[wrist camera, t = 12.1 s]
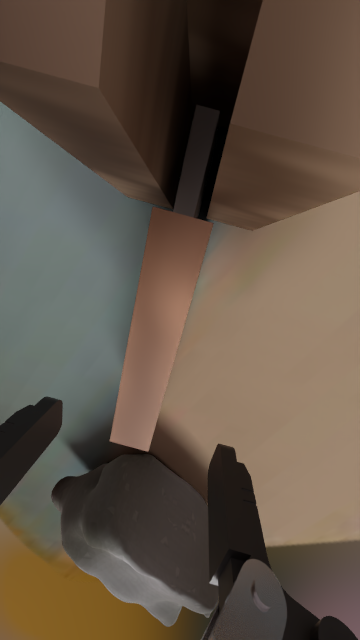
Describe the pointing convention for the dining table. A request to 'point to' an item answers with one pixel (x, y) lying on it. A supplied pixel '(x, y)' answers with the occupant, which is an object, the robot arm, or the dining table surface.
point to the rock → (139, 535)
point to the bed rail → (165, 291)
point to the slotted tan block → (195, 94)
